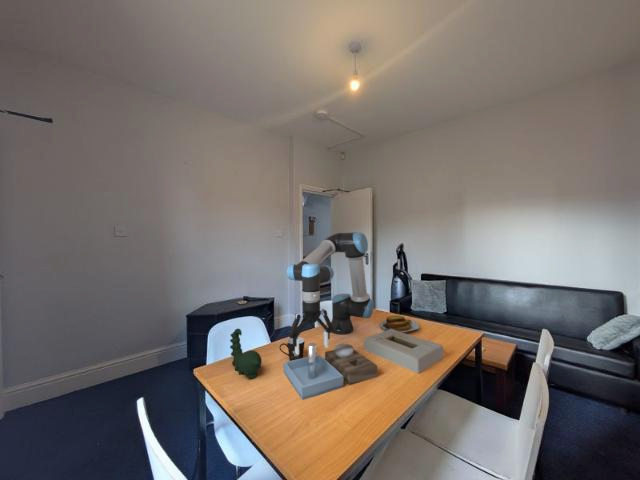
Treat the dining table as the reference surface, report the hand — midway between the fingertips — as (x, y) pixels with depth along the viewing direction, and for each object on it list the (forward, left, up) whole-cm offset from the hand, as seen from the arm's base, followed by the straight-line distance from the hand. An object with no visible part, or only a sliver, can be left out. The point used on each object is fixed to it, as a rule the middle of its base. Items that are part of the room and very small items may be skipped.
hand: (311, 350), depth 111 cm
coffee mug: (-20, -1, -13) cm, 24 cm away
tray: (0, 0, -13) cm, 13 cm away
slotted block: (0, +51, -13) cm, 53 cm away
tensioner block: (0, +19, -13) cm, 23 cm away
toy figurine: (-19, -24, -13) cm, 34 cm away
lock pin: (0, 0, -11) cm, 12 cm away
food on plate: (-30, +77, -13) cm, 84 cm away
